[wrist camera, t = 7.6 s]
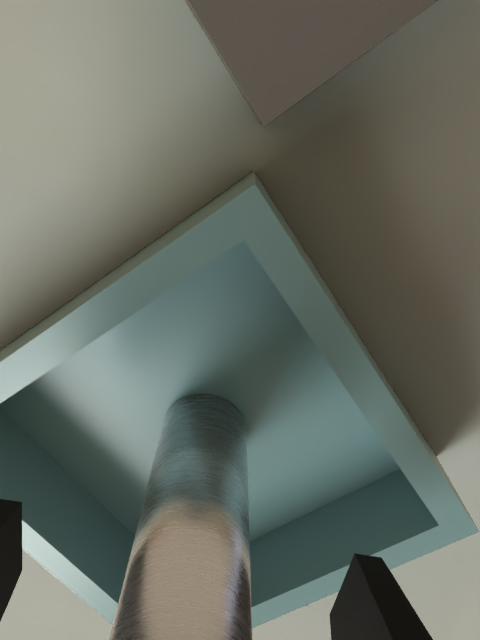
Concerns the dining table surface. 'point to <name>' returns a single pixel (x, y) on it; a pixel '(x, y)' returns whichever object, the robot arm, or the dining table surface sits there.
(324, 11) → the pin bracket
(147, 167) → the dining table surface
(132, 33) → the dining table surface
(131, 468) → the tray
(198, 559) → the pin
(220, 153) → the dining table surface
